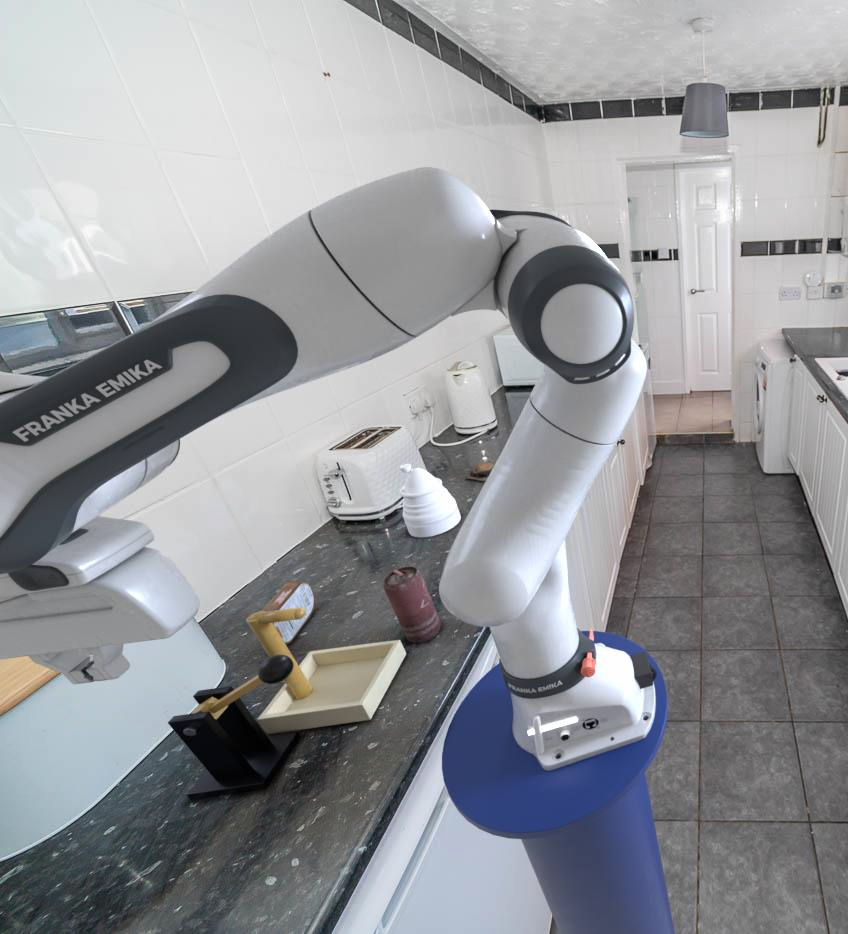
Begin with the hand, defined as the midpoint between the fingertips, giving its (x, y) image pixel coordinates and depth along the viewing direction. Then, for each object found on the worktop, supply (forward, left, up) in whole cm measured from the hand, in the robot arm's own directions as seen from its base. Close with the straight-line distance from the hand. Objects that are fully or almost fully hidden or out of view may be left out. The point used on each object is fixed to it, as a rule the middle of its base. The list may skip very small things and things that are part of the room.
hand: (104, 676), depth 45 cm
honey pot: (+8, -80, -33) cm, 87 cm away
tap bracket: (+11, -14, -33) cm, 38 cm away
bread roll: (+2, -109, -33) cm, 114 cm away
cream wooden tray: (+4, -26, -33) cm, 42 cm away
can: (-5, -38, -33) cm, 51 cm away
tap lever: (+5, -14, -20) cm, 25 cm away
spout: (+8, -26, -33) cm, 43 cm away
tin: (+22, -44, -33) cm, 60 cm away
